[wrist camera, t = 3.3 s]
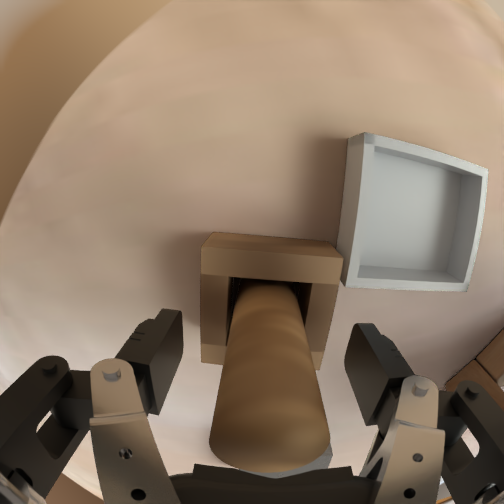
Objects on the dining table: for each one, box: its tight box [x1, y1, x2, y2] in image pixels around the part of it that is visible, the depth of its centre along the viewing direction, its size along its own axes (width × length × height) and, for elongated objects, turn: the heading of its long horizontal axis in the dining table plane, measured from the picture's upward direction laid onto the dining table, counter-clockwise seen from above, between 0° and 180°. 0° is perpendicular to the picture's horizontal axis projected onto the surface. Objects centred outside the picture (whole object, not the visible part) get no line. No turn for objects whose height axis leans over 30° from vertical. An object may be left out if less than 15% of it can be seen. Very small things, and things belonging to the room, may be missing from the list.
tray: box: [336, 132, 488, 292], centre depth 13 cm, size 8×7×2 cm
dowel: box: [209, 278, 330, 473], centre depth 10 cm, size 3×3×10 cm
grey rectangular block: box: [239, 443, 333, 478], centre depth 18 cm, size 7×6×3 cm
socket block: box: [200, 232, 344, 370], centre depth 14 cm, size 6×6×3 cm
